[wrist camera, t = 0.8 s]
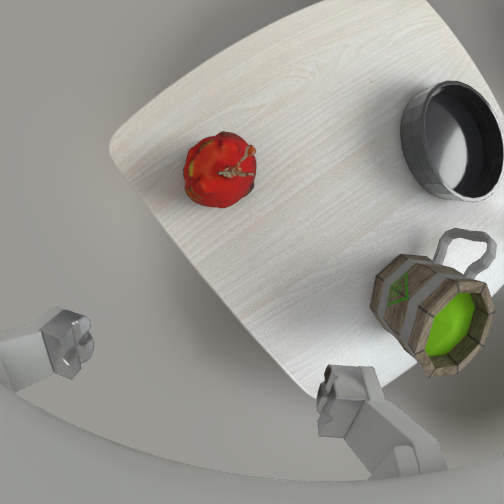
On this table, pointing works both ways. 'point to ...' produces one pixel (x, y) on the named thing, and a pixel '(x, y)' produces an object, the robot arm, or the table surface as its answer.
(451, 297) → the mug
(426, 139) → the pan
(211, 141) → the red clay folk toy
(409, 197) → the table surface
